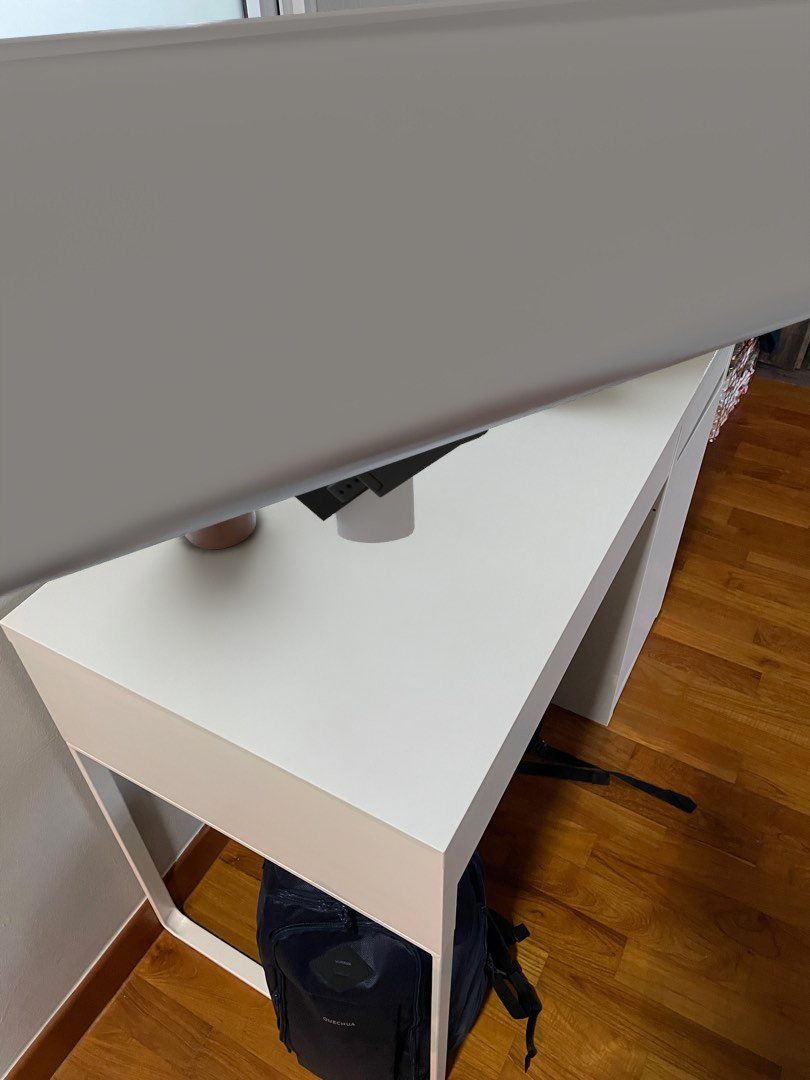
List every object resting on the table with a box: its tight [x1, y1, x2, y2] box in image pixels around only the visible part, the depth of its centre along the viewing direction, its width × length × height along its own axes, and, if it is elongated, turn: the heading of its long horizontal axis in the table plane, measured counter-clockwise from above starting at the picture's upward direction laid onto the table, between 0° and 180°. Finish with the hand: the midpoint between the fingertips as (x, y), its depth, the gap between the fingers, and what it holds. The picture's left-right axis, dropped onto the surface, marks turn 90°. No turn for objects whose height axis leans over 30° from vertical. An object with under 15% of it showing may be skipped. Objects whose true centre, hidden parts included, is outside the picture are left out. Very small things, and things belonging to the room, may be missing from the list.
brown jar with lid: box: [184, 510, 257, 550], centre depth 87 cm, size 8×8×12 cm
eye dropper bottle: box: [334, 476, 416, 544], centre depth 55 cm, size 4×6×12 cm
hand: (321, 485), depth 58 cm, fingers closed on eye dropper bottle, 4 cm apart
